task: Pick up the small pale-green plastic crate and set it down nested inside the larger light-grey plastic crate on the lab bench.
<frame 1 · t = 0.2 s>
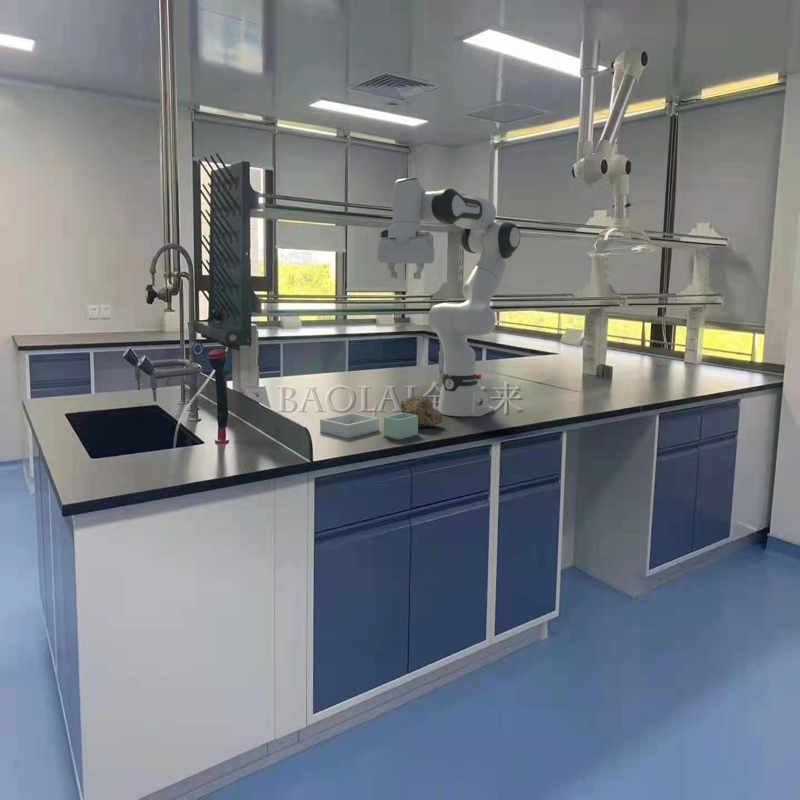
hand: (405, 278, 206), 47 cm above the table, fingers open, 8 cm apart
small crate: (400, 435, 204), on the table
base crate: (349, 431, 208), on the table
rock: (418, 425, 218), on the table
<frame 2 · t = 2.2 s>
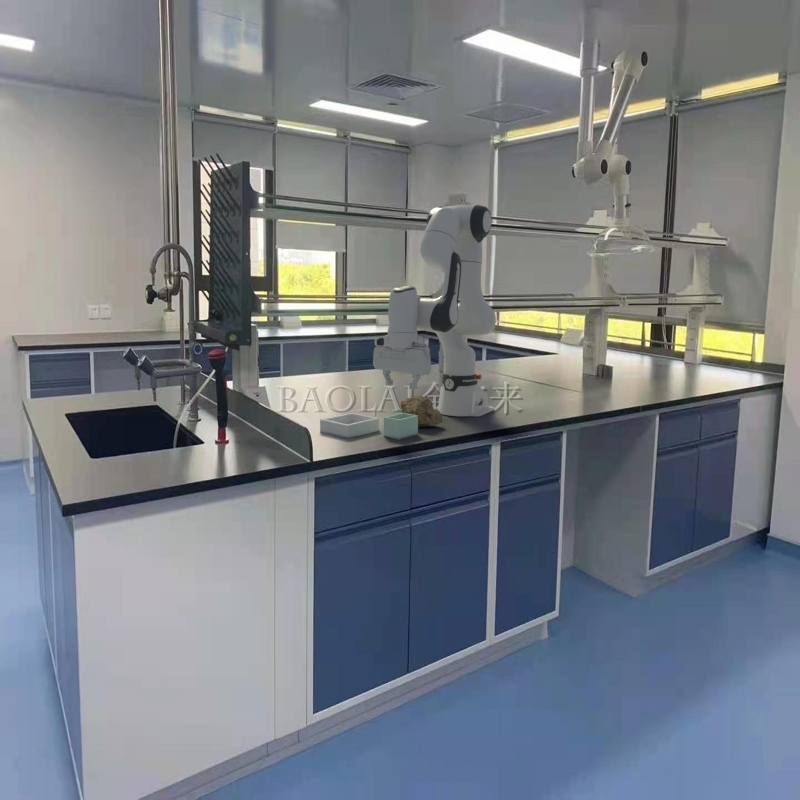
hand: (401, 387, 200), 15 cm above the table, fingers open, 8 cm apart
nothing on the table moved.
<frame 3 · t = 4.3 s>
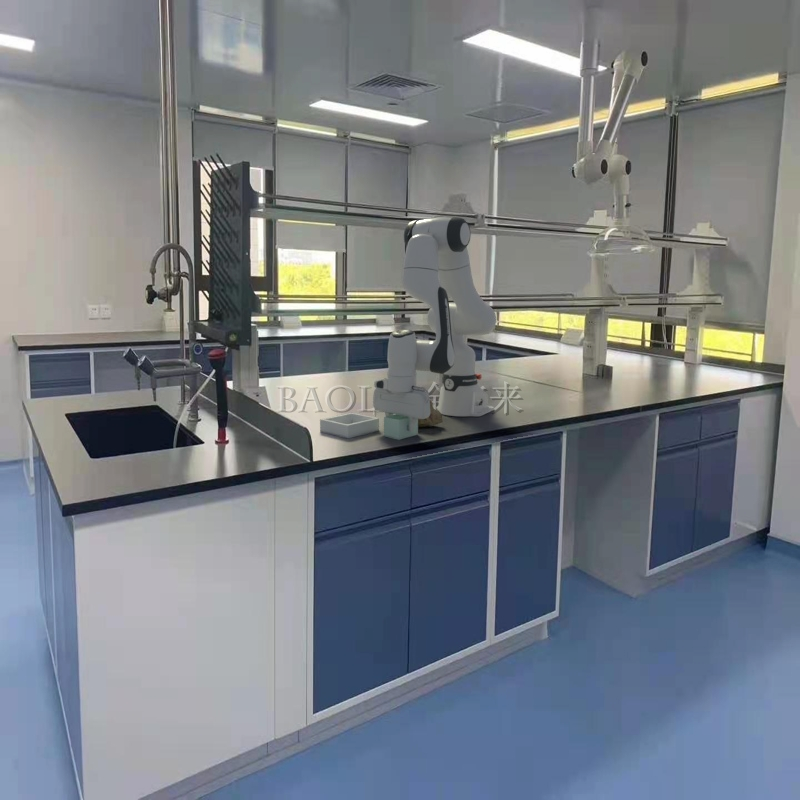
hand: (400, 428, 203), 2 cm above the table, fingers closed on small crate, 6 cm apart
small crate: (400, 435, 204), on the table, touching gripper
everything else where it was.
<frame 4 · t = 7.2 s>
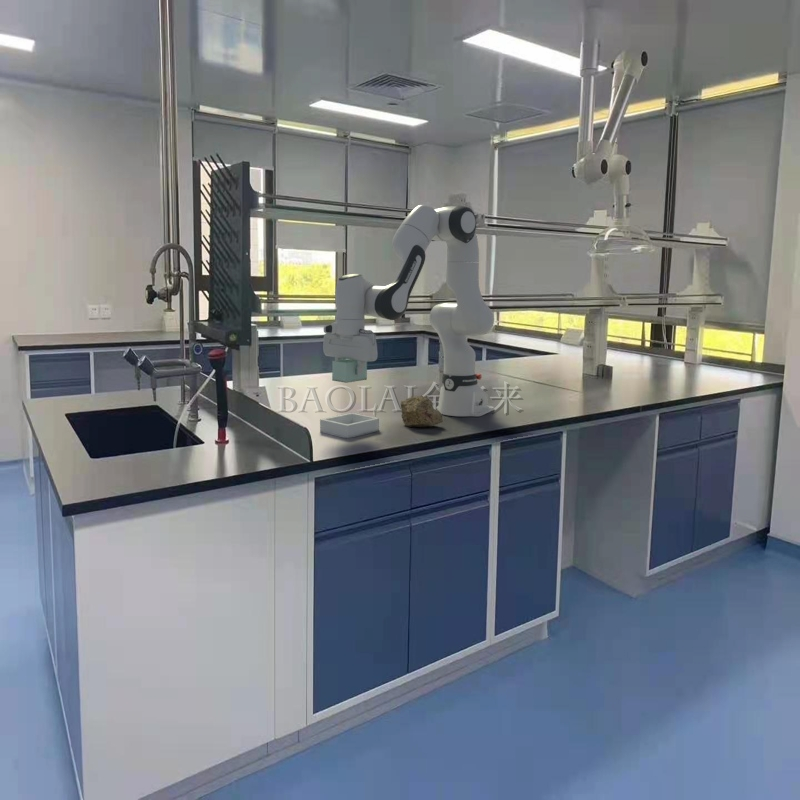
hand: (349, 373, 204), 18 cm above the table, fingers closed on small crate, 6 cm apart
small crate: (349, 380, 205), point 16 cm above the table, touching gripper
everything else where it was.
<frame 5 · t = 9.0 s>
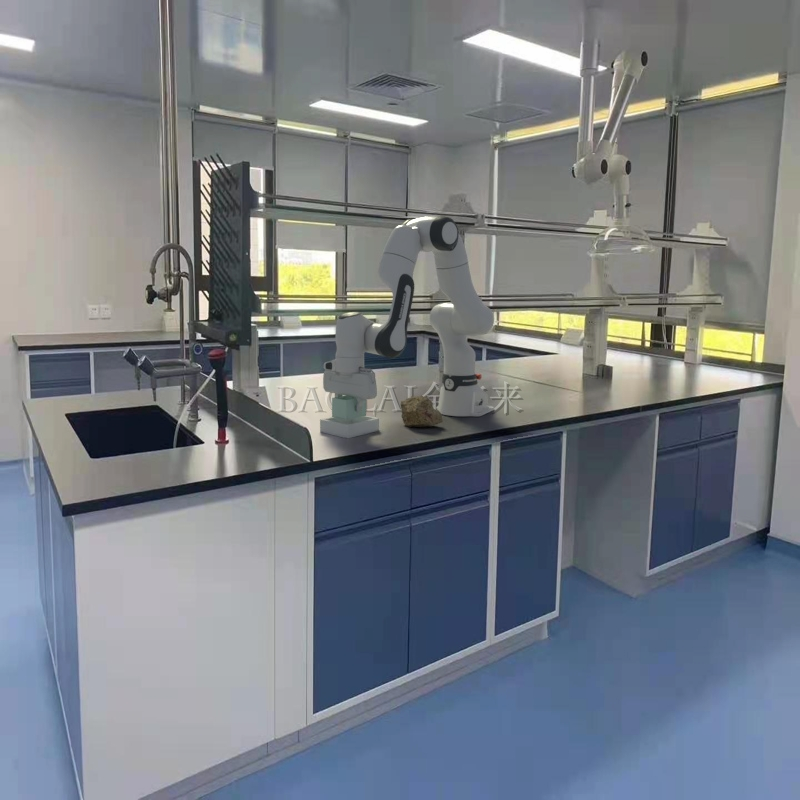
hand: (349, 409, 206), 7 cm above the table, fingers closed on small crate, 6 cm apart
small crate: (349, 416, 207), point 5 cm above the table, touching gripper
everything else where it was.
when the fingers open (5 cm above the table, at t = 10.4 s): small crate drops 2 cm, resting on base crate.
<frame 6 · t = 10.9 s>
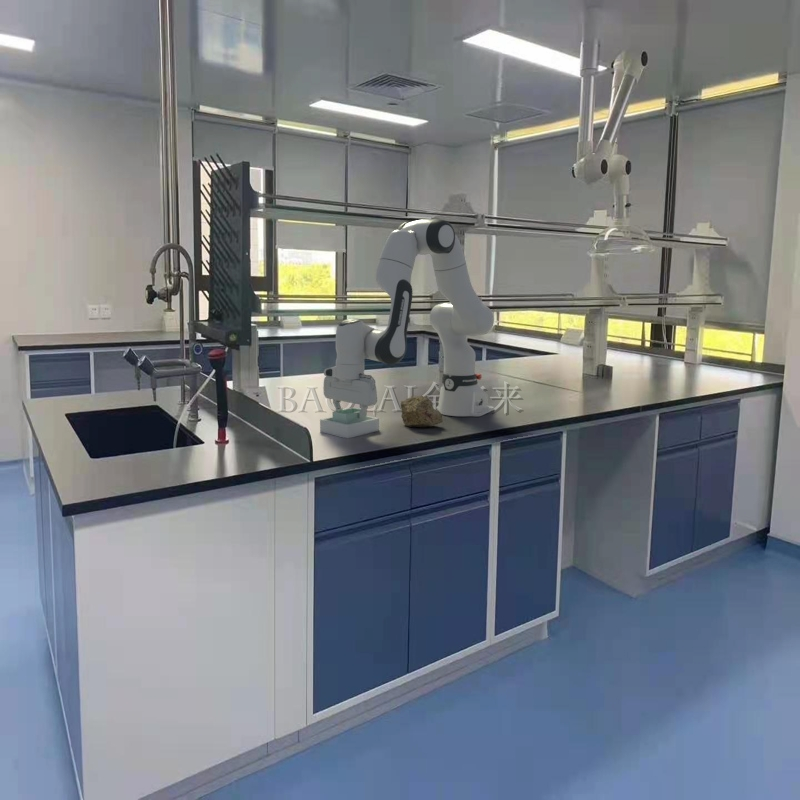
hand: (349, 416, 207), 5 cm above the table, fingers open, 8 cm apart
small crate: (349, 429, 208), resting on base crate
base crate: (349, 431, 208), on the table, touching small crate
everything else where it was.
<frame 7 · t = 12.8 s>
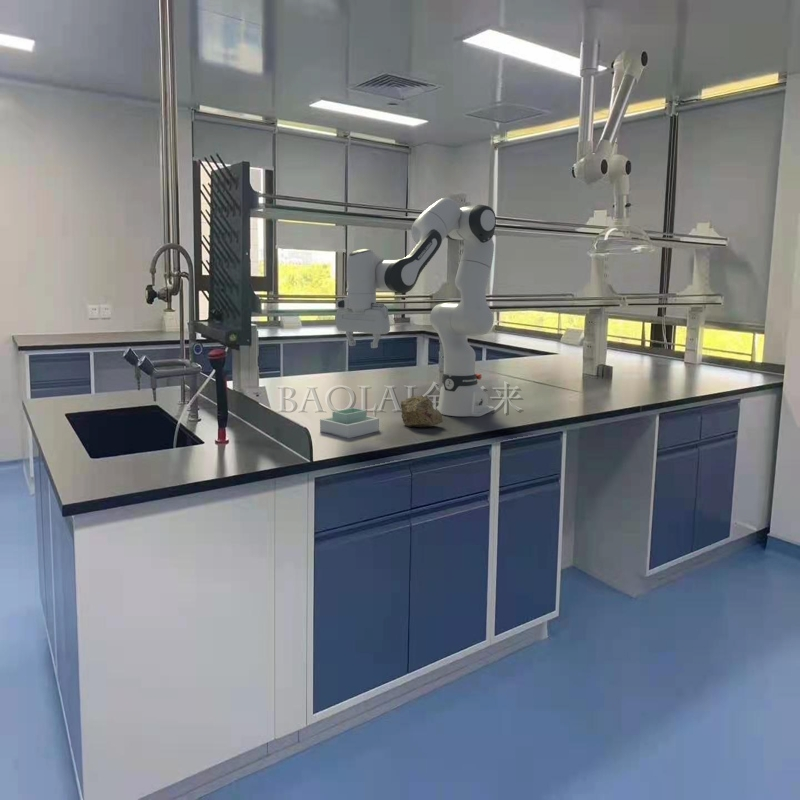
hand: (363, 346, 210), 26 cm above the table, fingers open, 8 cm apart
nothing on the table moved.
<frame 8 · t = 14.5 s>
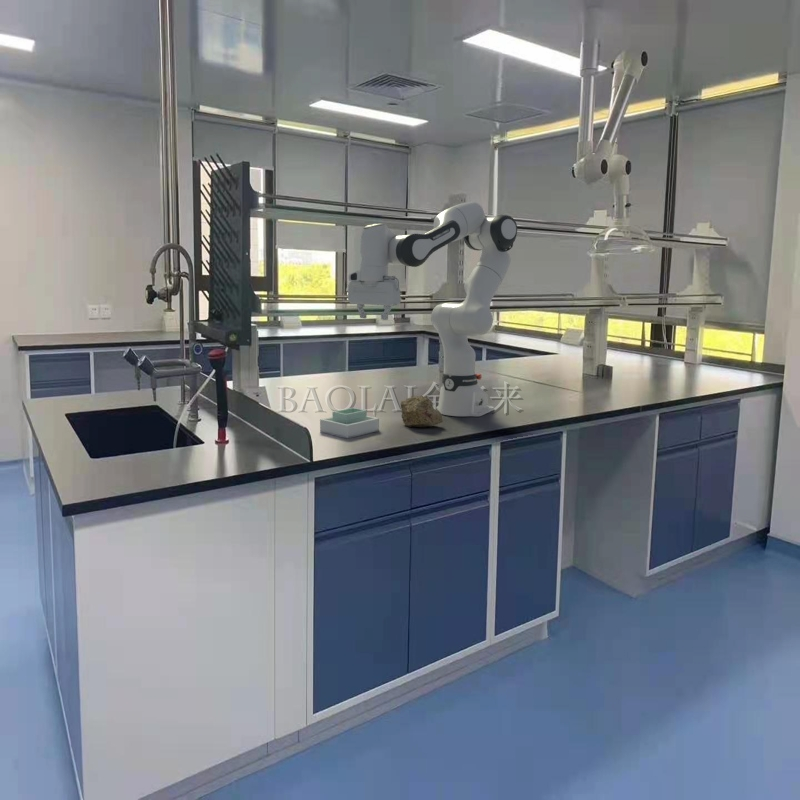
hand: (373, 319, 215), 34 cm above the table, fingers open, 8 cm apart
nothing on the table moved.
at the end: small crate 0.0 cm off-centre on the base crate, point 0.5 cm above the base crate's base; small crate tilted 0°; the gripper is holding nothing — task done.
